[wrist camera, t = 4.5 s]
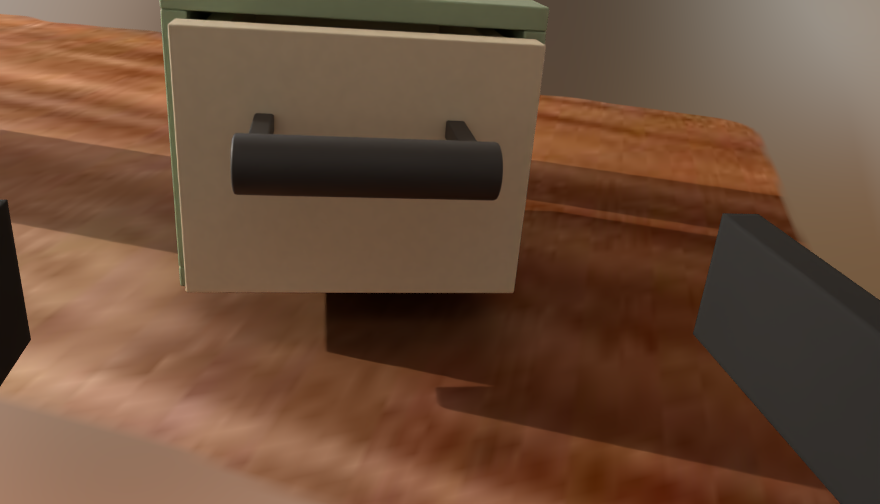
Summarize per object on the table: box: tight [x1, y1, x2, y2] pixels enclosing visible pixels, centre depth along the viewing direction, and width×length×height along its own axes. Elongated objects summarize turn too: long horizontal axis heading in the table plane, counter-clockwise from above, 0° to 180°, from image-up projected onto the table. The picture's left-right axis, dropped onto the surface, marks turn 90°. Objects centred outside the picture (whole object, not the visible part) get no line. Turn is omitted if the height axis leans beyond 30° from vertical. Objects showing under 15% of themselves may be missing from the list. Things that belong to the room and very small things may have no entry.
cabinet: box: [160, 0, 549, 286], centre depth 33 cm, size 15×13×11 cm
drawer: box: [168, 12, 546, 293], centre depth 28 cm, size 18×11×9 cm, turn 8°
